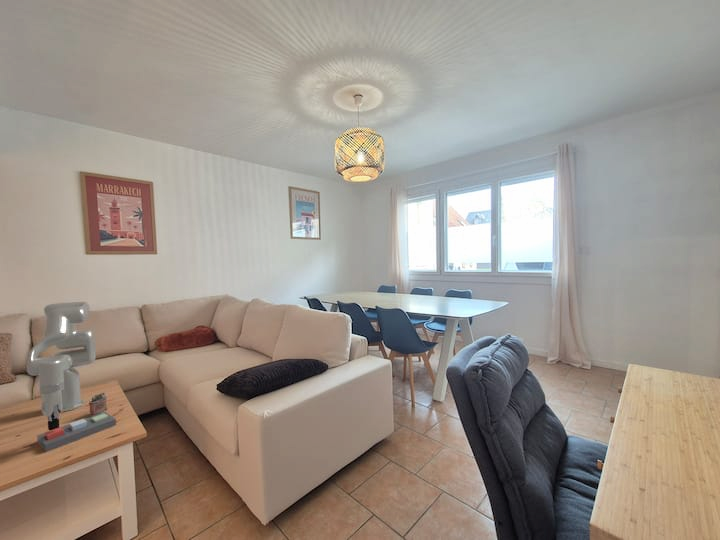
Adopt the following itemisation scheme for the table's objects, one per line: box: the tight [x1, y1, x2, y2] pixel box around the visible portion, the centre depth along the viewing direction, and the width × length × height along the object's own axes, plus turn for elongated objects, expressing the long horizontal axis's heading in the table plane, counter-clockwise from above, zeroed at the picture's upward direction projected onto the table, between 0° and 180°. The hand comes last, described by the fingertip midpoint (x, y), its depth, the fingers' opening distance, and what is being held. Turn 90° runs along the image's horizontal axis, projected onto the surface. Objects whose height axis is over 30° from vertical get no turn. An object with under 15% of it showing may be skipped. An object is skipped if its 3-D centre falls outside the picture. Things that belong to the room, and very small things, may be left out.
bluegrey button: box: [69, 418, 87, 431], centre depth 138 cm, size 5×5×3 cm
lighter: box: [88, 392, 108, 417], centre depth 157 cm, size 8×3×10 cm, turn 168°
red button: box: [44, 426, 64, 440], centre depth 131 cm, size 5×5×3 cm
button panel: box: [36, 411, 117, 453], centre depth 138 cm, size 14×24×3 cm, turn 148°
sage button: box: [92, 413, 108, 423], centre depth 145 cm, size 5×5×3 cm
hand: (53, 428), depth 131 cm, fingers closed
